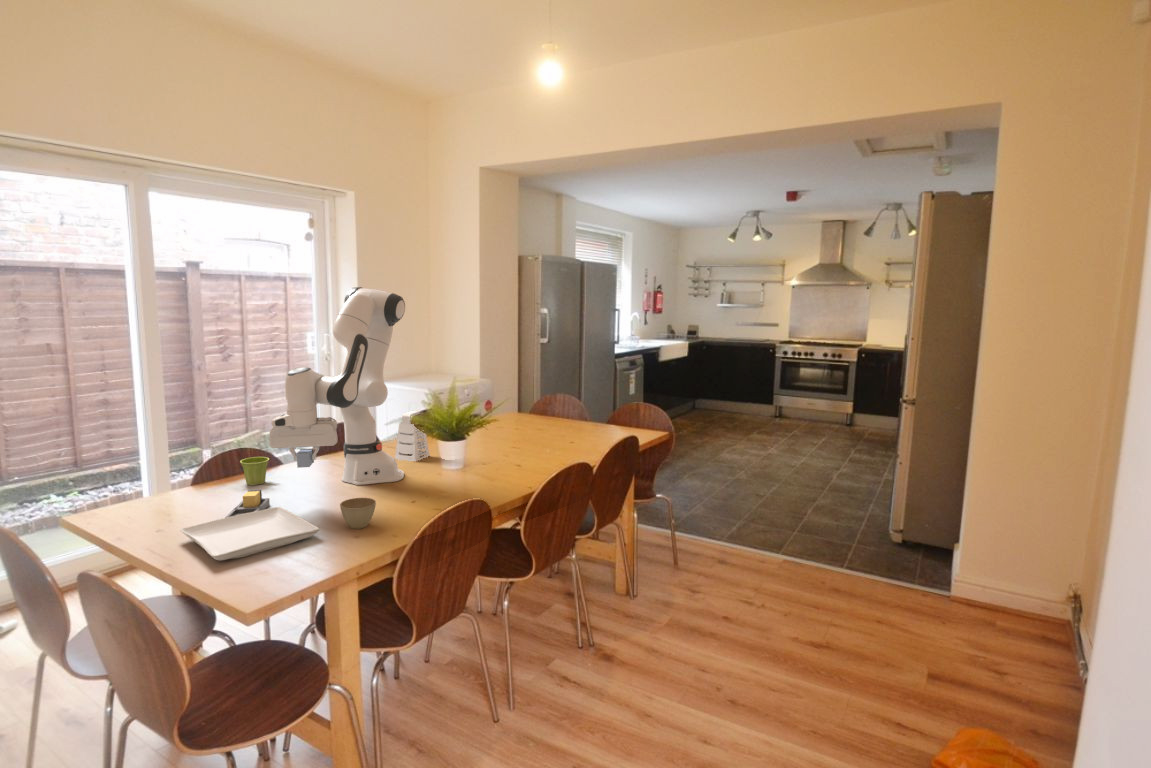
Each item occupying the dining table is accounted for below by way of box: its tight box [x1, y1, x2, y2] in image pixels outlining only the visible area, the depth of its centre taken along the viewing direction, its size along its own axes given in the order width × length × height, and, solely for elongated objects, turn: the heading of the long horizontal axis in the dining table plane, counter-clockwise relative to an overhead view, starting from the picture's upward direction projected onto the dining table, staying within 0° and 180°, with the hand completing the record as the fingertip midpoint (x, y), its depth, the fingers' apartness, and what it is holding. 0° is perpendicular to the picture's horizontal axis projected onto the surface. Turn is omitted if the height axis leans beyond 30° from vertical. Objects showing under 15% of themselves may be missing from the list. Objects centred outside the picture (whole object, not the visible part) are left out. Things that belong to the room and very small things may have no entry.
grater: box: [394, 410, 431, 463], centre depth 258 cm, size 10×10×20 cm
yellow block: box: [242, 489, 263, 507], centre depth 191 cm, size 4×6×5 cm, turn 12°
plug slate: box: [296, 448, 315, 469], centre depth 195 cm, size 4×6×5 cm, turn 12°
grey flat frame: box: [224, 497, 270, 518], centre depth 187 cm, size 8×18×2 cm, turn 12°
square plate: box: [179, 506, 320, 561], centre depth 167 cm, size 27×27×4 cm
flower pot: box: [339, 497, 377, 530], centre depth 178 cm, size 10×10×7 cm
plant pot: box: [239, 456, 270, 486], centre depth 220 cm, size 9×9×9 cm
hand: (305, 459), depth 196 cm, fingers closed on plug slate, 4 cm apart
